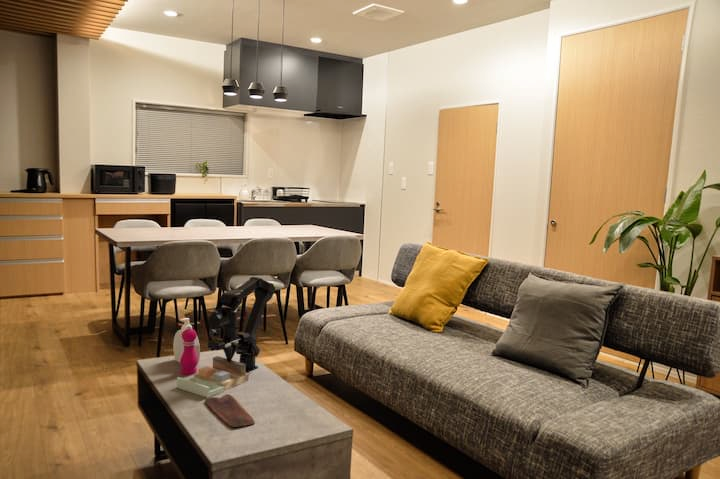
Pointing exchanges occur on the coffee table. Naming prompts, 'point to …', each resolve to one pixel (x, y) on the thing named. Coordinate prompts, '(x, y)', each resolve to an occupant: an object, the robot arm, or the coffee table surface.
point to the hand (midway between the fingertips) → (229, 361)
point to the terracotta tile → (206, 371)
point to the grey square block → (221, 376)
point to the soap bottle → (178, 342)
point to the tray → (199, 387)
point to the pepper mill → (189, 352)
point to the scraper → (229, 366)
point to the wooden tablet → (230, 410)
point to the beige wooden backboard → (228, 383)
